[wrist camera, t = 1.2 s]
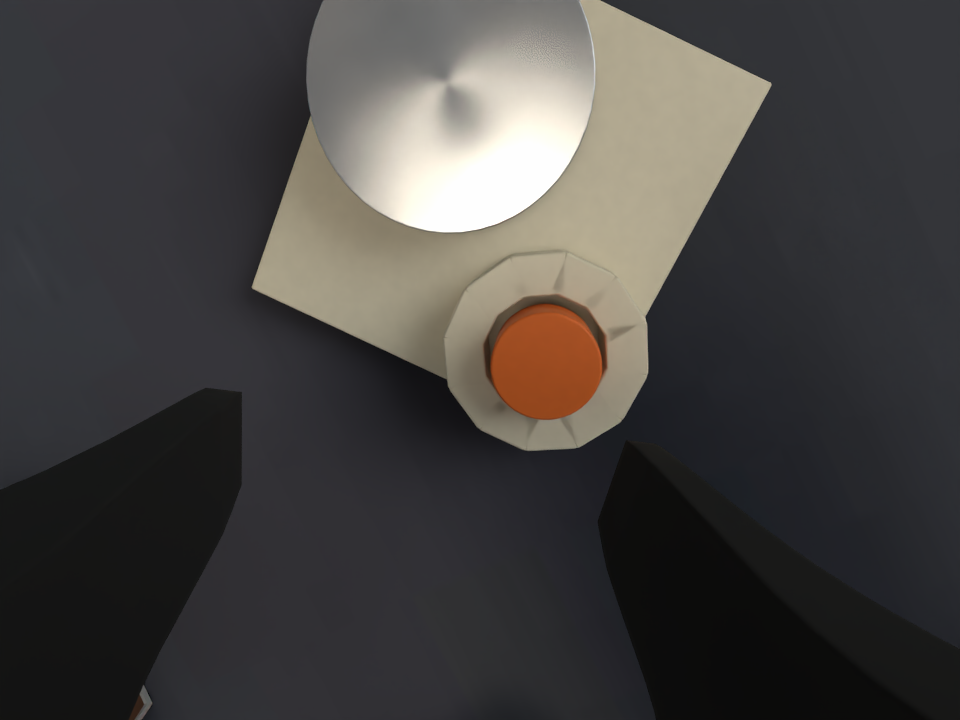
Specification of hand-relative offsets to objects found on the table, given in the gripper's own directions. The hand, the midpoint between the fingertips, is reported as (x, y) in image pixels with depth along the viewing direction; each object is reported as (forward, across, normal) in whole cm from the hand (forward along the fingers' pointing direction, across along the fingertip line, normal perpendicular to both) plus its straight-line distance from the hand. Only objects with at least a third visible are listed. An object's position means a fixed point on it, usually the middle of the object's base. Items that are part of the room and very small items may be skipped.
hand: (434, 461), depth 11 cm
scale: (+10, -1, -3) cm, 11 cm away
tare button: (+6, -3, 0) cm, 7 cm away
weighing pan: (+8, +1, -6) cm, 10 cm away
